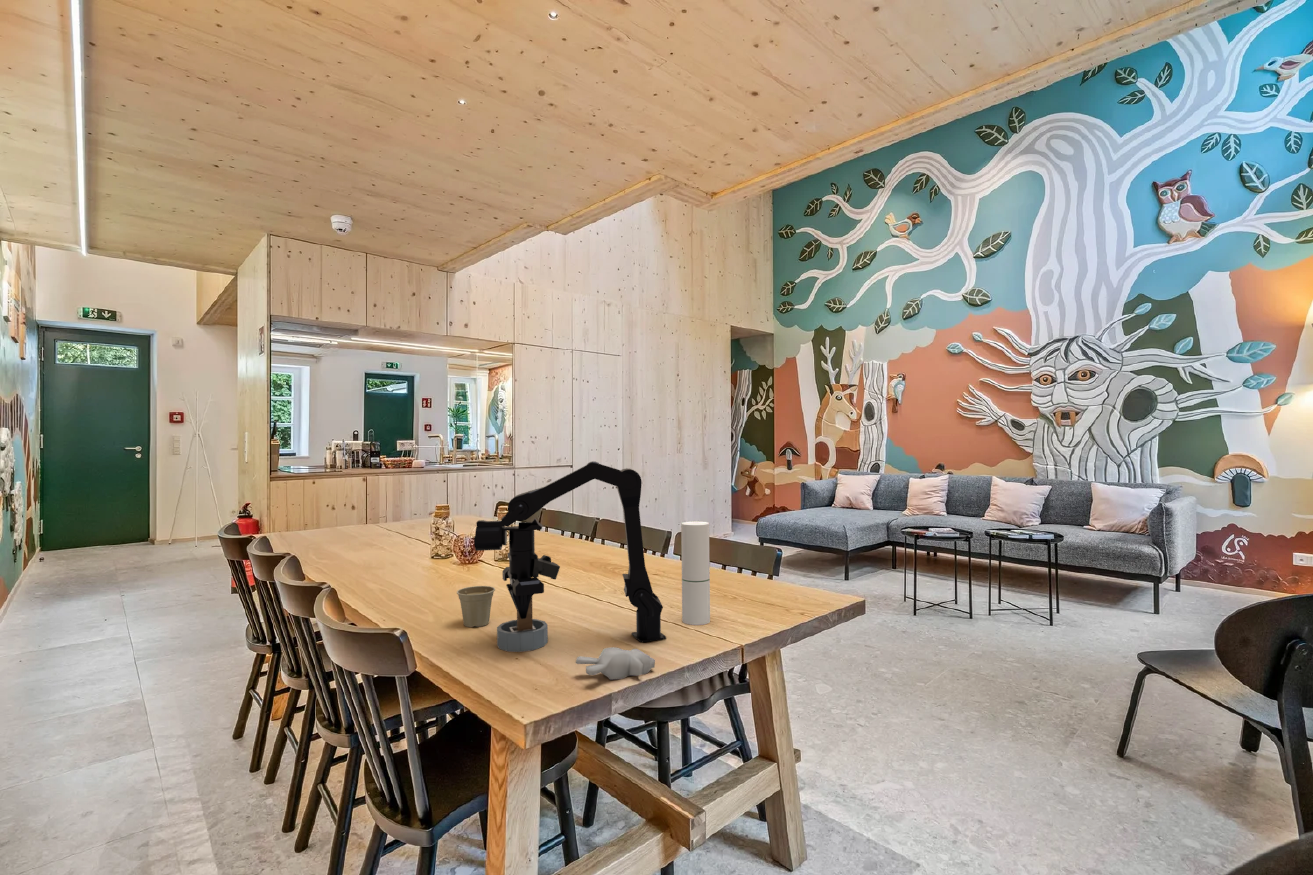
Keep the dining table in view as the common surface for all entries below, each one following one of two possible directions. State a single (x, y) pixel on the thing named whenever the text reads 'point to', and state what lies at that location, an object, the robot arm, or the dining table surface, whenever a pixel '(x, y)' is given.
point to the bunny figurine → (618, 663)
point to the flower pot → (476, 605)
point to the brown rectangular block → (527, 622)
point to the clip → (514, 629)
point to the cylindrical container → (695, 573)
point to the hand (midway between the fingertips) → (522, 617)
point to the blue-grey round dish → (522, 637)
